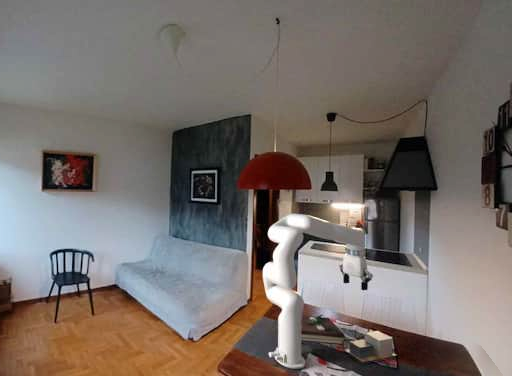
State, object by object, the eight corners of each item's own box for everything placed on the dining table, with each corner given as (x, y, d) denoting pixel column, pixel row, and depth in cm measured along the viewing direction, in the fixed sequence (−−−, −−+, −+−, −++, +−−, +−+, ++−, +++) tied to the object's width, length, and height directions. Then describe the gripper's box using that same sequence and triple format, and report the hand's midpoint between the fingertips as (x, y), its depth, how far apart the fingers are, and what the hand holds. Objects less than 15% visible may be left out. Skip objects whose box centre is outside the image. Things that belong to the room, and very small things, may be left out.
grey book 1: (360, 353, 117) (360, 347, 117) (349, 346, 121) (349, 341, 121) (373, 350, 119) (373, 345, 119) (363, 344, 123) (363, 339, 123)
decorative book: (275, 311, 149) (332, 315, 144) (275, 324, 149) (332, 329, 144) (285, 328, 130) (351, 334, 125) (285, 344, 130) (351, 350, 125)
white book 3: (379, 356, 118) (379, 351, 118) (364, 347, 125) (364, 342, 125) (392, 353, 120) (392, 348, 120) (377, 345, 127) (377, 340, 127)
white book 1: (379, 345, 118) (379, 340, 118) (364, 337, 125) (364, 332, 125) (392, 343, 120) (392, 338, 120) (377, 335, 127) (377, 330, 127)
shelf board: (362, 365, 114) (362, 361, 114) (344, 352, 123) (344, 349, 123) (396, 358, 119) (396, 355, 119) (376, 346, 128) (376, 343, 128)
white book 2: (379, 351, 118) (379, 345, 118) (364, 342, 125) (364, 337, 125) (392, 348, 120) (392, 343, 120) (377, 340, 127) (377, 335, 127)
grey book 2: (359, 358, 117) (360, 353, 117) (349, 351, 121) (349, 346, 121) (373, 355, 119) (373, 350, 119) (363, 349, 123) (363, 344, 123)
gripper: (334, 249, 139) (334, 281, 139) (366, 257, 123) (366, 293, 123) (345, 248, 141) (345, 280, 141) (378, 256, 125) (378, 292, 124)
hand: (355, 286), depth 132 cm, fingers open, 9 cm apart
